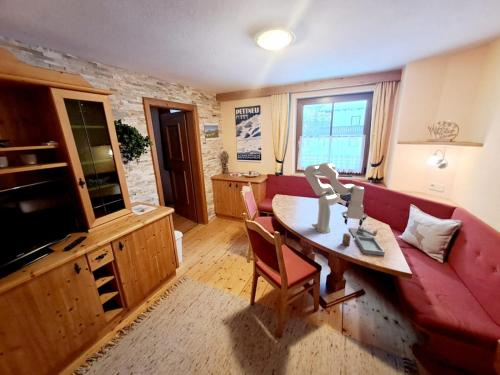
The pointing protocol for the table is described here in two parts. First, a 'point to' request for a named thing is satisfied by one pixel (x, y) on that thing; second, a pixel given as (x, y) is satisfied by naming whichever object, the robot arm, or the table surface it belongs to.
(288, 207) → the table surface
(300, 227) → the table surface
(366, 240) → the tray
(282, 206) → the table surface
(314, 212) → the table surface
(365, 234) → the crank base
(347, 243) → the block
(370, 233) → the crank
